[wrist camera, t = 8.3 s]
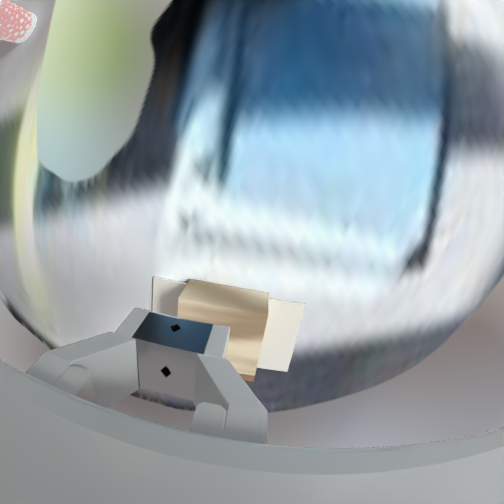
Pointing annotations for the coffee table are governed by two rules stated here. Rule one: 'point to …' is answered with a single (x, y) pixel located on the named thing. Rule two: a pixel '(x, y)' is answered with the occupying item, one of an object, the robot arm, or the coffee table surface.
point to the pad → (276, 332)
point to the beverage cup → (15, 22)
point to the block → (230, 319)
